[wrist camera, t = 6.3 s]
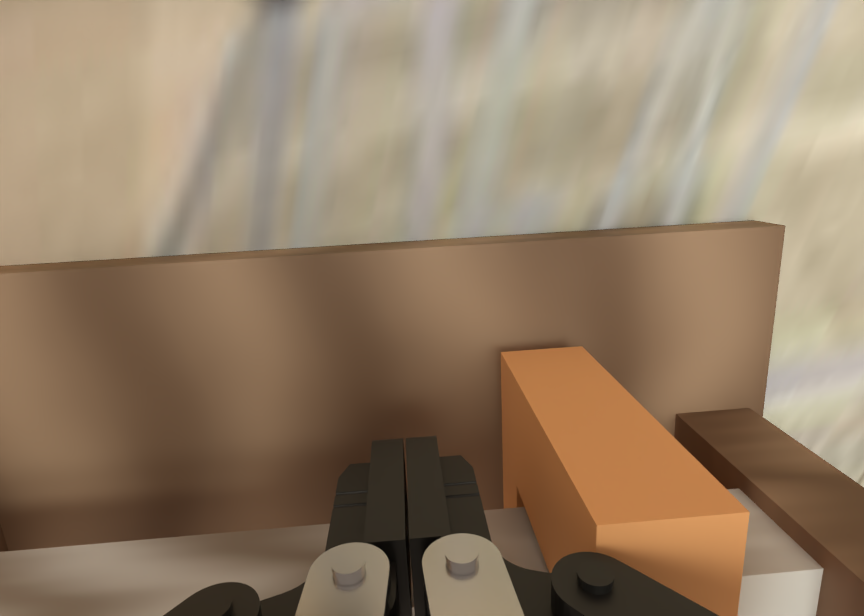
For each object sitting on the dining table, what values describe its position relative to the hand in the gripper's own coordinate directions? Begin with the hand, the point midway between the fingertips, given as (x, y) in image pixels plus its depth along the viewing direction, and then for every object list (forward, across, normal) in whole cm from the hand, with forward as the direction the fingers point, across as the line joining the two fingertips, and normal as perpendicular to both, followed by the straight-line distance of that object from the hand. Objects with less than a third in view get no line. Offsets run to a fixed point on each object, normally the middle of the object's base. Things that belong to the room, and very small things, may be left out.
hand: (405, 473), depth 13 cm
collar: (+3, -4, +3) cm, 6 cm away
